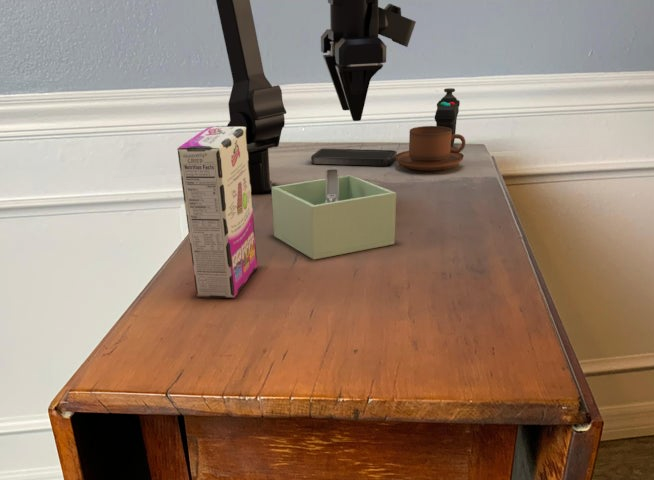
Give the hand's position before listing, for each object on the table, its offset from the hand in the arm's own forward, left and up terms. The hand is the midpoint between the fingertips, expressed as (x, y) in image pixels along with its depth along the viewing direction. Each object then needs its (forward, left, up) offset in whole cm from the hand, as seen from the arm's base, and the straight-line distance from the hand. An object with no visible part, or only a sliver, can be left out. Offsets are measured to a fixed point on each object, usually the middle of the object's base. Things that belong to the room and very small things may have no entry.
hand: (351, 115), depth 113 cm
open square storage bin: (+15, -5, -13) cm, 20 cm away
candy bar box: (+29, -20, -13) cm, 38 cm away
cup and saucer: (-24, +18, -13) cm, 33 cm away
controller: (-38, +25, -13) cm, 47 cm away
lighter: (+14, -5, -13) cm, 19 cm away
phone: (-33, +6, -13) cm, 36 cm away
